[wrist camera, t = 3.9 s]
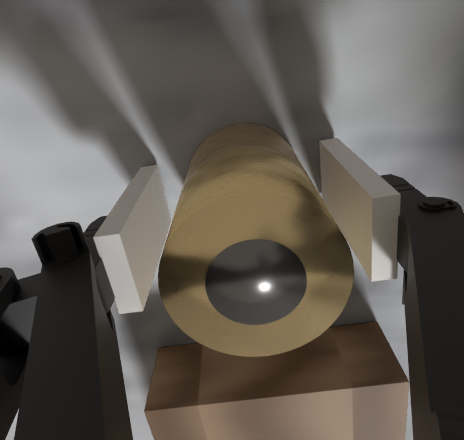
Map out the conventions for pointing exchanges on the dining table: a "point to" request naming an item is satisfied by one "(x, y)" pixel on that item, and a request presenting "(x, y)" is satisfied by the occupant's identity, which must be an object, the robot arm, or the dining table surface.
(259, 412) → the block
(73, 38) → the dining table surface
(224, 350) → the bushing
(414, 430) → the robot arm
